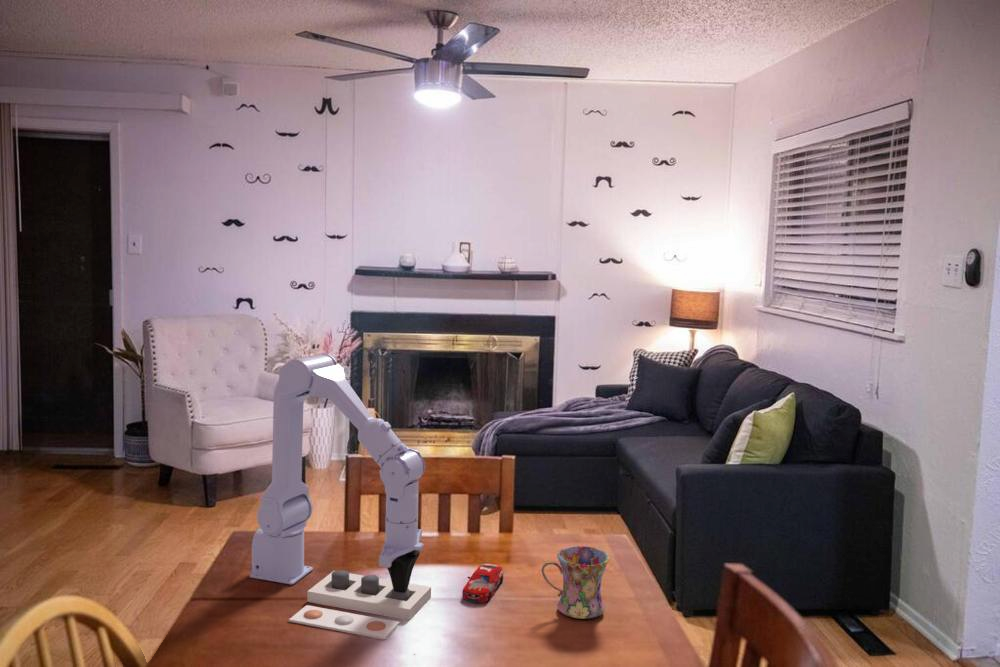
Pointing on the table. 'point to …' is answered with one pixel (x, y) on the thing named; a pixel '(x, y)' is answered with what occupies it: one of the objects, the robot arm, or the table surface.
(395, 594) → the button outer
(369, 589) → the button middle
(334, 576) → the button inner
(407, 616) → the button board
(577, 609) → the mug
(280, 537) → the robot arm
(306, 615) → the pattern card
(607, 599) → the table surface
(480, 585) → the race car
